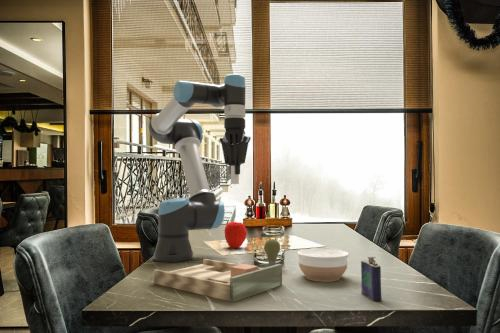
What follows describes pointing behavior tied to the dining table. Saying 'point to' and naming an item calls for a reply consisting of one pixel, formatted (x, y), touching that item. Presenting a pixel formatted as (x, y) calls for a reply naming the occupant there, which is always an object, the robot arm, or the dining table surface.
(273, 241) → the light bulb
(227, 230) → the apple
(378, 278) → the flask
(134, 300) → the dining table surface
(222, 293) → the box
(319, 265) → the bowl
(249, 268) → the block
